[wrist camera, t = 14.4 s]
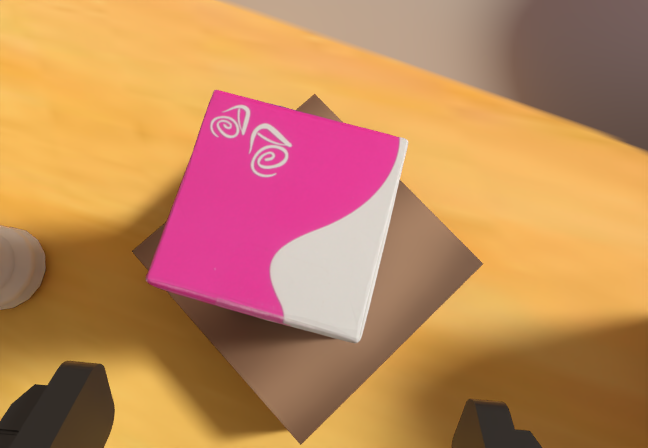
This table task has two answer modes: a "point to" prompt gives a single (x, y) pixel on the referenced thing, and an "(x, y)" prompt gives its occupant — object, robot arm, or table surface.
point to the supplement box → (281, 216)
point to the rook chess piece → (19, 266)
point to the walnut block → (326, 352)
